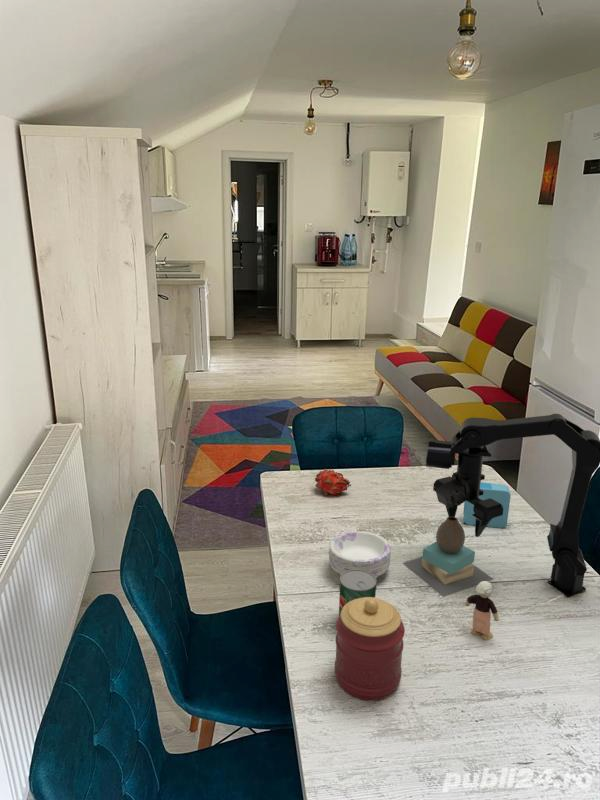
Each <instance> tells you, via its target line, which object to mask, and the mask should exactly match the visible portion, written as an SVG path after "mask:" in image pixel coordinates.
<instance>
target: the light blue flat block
mask: <svg viewBox="0 0 600 800" xmlns="http://www.w3.org/2000/svg"><path fill="white" fill-rule="evenodd" d="M480 489H481V490H482V491H483V495H481V496H479V498H480V499H482V500H486V499H489V498H491V499H493V500H495V501H497V502H498V503H500V504H502V505H503V515H501V516H498V517H495V518H492V519H491V521H490V522H489V523H488V525H487V526H486V527H485V528H494V529H495V528H496V529H503V528H506V526H507V524H508V521H509V520H508V519H509V511H510V502H511V492H510V487H509V486H508V485H506V484H504V483H503V484H501V483H492V482H482V481H481V483H480ZM463 504H464V505H463V512H462V515H463V520H464V523H465V524H466V525H468V526H475V523H476V519H475V518H474V516H473V515H472V514H475V513H474V511H473V507H474V505H473V504H471V503H470V502H468V501H465V502H463Z"/></svg>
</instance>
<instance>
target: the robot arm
mask: <svg viewBox="0 0 600 800" xmlns="http://www.w3.org/2000/svg"><path fill="white" fill-rule="evenodd" d="M552 435H553V436H555V437H557V438H558V439H559V440H561V442H562V443H564V444H565V445H566V446H567V447H568V448H570V450H571V461H572V462H571V463H572V469H571V472H570V477H569V481H568V486H567V490H566V496H565V499H564V503H563V507H562V511H561V515H560V516H561V517H560V520H559V521H558V523H557V524H552V523H550V525H549V533H548V534H547V536H546V537H547V544H548V548H549V552H551V556H552V559H553V560H554V563H553V564H552V568H551V574H550V575H551V576H550V580H547V581H546V583H547V584H549V585H550V586H552V587H553V588H554V589H556V590H557V591H559V592H561V593H562V594H563V595H564V596H565V597H567V598H570V597H573V596H576V595H578V594H581V593H584V592H585V591H586V590H587V588H586V587H585V586H584V579H585V574H586V572H587V570H588V568H587V566H586V562H585V558H584V555H583V552H582V550H581V549H580V539H579V529H580V524H581V521H582V520H581V519H582V516H583V510H584V507H585V504H586V500H587V496H588V491H589V487H590V483H591V479H592V476H593V474H594V473H595V472H596V471H597V469H598V468H599V466H600V437H599V436H598V434H596V432H594V431H592V430H589V429H587V430H584V429H583V428H582V427H580V426H579V425H578V424H576V423H574V422H572V421H571V420H568V419H567V418H565V417H564V416H563V415H562V414H560V413H552V414H548V415H547V414H546V415H539V416H538V415H537V416H529V417H520V418H511V419H501V420H499V419H497V420H496V419H491V418H487V417H469V418H466V419H464V420H463V421H462V423H461V426H460V429H459V430H458V431H457V433H456V434H454V436H452V438H451V441H447V440H437V439H435V438H429V439H428V447H427V452H426V457H425V467H428V468H436V469H446V470H450V469H451V468H452V466H455V462H456V454H457V464H456V465H457V466H456V472H455V471H454V472H452V475H451V476H449V475H448V476H445V477H442V478H438V479H435V481H434V483H433V485H432V486H433V488H432V490H433V491H434V492H435V494H436V499H437V502H439V503H441V504H443V505H444V506H445V509H446V512H447V516H448V517H449V516H453V517H456V515H457V510H458V506H461V505H462V504H464V502H465V501H468V502H470V503H471V504H473V505H474V507H473V511H474V513H475V514H472V515H473V516H474V518H475V519H476V523H475V525H474V535H475V537H476V538H479V537H480V536H481V535H482V533H483V532H484V530H485V529H486V528H487V527H486V526H487V525H488V523H489V522H490V521H491V519H492V518H495V517H498V516H501V515H503V505H502V504H500V503H498V502H497V501H495V500H493V499H491V498H489V499H486V500H482V499H480V498H479V496H481V495H483V491H482V490H481V489H480V483H481V482H482V481H483V480H485V479H486V475H485V474H483V471H482V470H483V462H484V461H483V460H484V457H487V458H492V455H493V454H492V449H491V448H490V447H488V445H491V444H493V443H496V442H499V441H502V440H511V439H520V438H531V437H532V438H533V437H543V436H552Z"/></svg>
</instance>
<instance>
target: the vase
mask: <svg viewBox="0 0 600 800" xmlns="http://www.w3.org/2000/svg"><path fill="white" fill-rule="evenodd" d="M435 535H436V537H435V540H436V541H435V542H437V545H438V547H439V548H440V549H441V550H442V551H443V552H445V553H447V554H455V553H457V552H459V551H460V550H461V549H462V547H463V546H465V540H466V534H465V531H464V528H463V526H462V524H461V523H460V522H459V520H458V518H457V517H456V516H455V517H453V516H448V517H446V519H445V520H444V521H443V522H442V523H441V524H440V525H439V526H438V528H437V531H436V534H435Z"/></svg>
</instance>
